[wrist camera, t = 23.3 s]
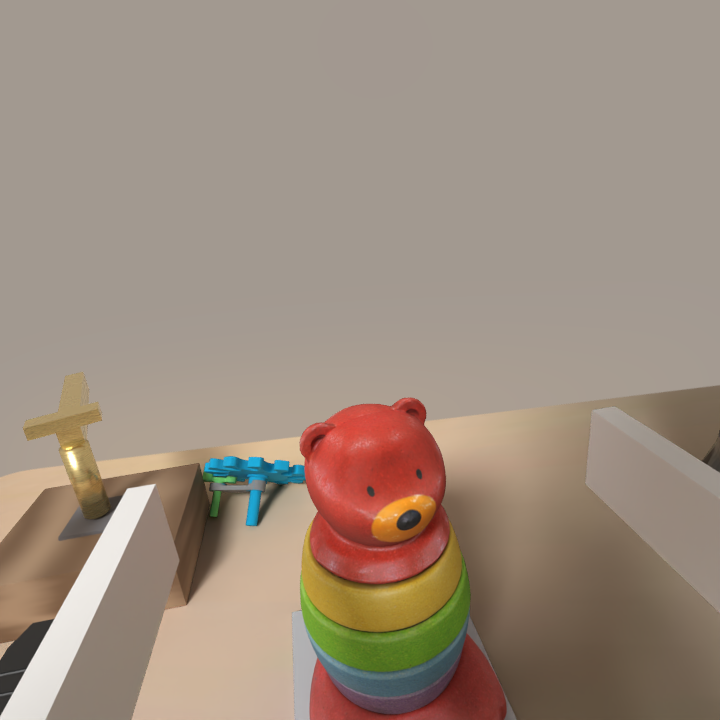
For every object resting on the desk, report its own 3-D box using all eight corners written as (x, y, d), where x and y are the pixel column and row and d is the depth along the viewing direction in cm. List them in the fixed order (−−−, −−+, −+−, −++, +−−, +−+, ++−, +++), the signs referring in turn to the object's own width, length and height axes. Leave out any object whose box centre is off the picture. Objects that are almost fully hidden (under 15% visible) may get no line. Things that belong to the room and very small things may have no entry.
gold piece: (130, 506, 37) (98, 409, 34) (63, 530, 35) (22, 429, 32) (121, 434, 49) (97, 358, 46) (71, 448, 47) (43, 371, 44)
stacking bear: (323, 814, 21) (258, 508, 15) (294, 631, 31) (247, 395, 24) (522, 733, 24) (536, 439, 18) (440, 585, 33) (431, 359, 27)
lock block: (210, 505, 45) (198, 460, 43) (186, 605, 34) (169, 550, 32) (62, 531, 43) (43, 486, 42) (-14, 646, 32) (-44, 590, 30)
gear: (328, 469, 46) (277, 446, 38) (323, 531, 44) (268, 520, 35) (239, 472, 50) (175, 451, 42) (230, 528, 48) (160, 519, 39)
